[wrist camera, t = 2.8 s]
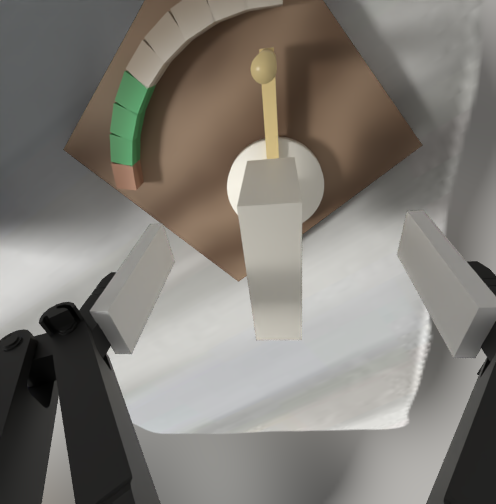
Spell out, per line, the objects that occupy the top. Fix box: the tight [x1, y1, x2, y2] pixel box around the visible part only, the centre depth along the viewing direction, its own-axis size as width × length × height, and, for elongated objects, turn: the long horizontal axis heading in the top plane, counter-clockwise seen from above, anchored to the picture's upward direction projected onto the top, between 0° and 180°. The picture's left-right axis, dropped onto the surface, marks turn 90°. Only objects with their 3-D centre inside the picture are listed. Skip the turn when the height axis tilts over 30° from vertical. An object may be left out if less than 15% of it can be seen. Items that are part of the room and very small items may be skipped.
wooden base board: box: [63, 0, 422, 282], centre depth 21 cm, size 18×18×4 cm
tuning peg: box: [227, 47, 324, 340], centre depth 16 cm, size 7×12×11 cm, turn 6°
